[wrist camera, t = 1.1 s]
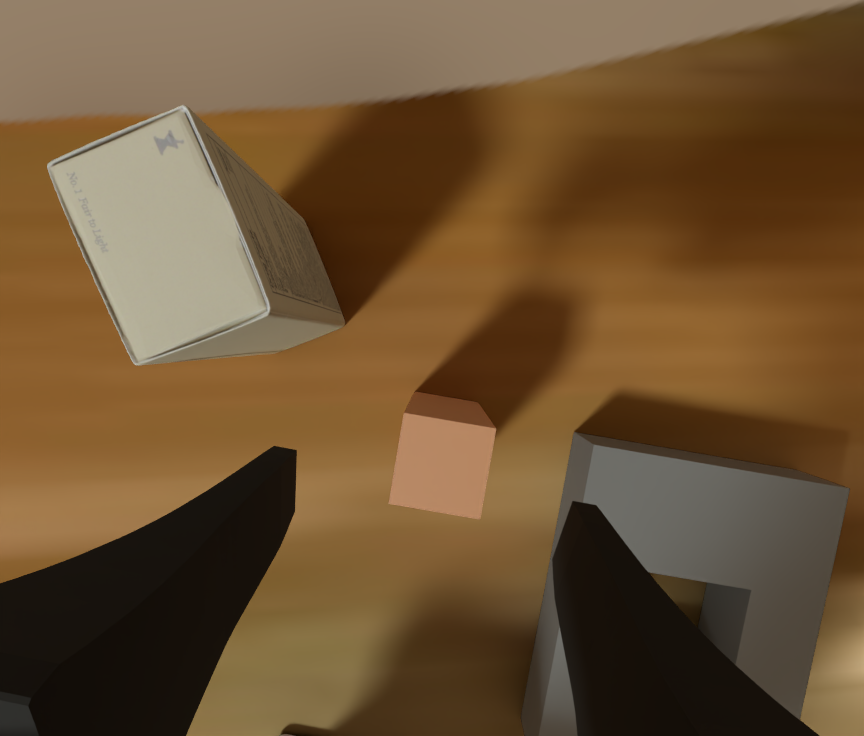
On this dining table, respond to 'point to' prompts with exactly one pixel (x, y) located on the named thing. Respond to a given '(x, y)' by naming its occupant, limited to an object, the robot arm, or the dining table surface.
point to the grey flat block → (704, 559)
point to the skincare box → (192, 245)
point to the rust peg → (443, 456)
